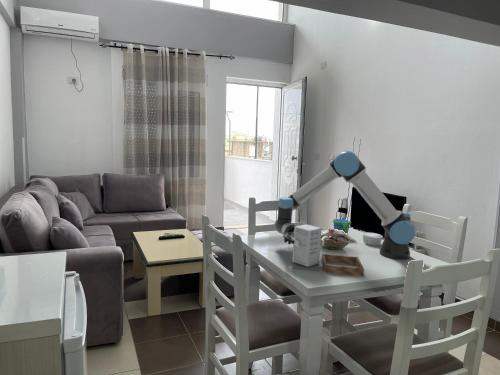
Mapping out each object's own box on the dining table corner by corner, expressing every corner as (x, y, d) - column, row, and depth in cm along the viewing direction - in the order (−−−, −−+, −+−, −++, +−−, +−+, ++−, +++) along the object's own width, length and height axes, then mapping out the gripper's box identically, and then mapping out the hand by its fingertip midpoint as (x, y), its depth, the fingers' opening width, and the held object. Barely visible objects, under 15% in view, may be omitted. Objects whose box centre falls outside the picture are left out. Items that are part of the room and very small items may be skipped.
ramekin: (379, 247, 214) (380, 238, 213) (359, 244, 219) (360, 235, 218) (383, 243, 223) (384, 234, 223) (364, 239, 229) (365, 231, 228)
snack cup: (351, 240, 225) (353, 224, 224) (333, 239, 226) (335, 222, 224) (346, 234, 240) (348, 218, 239) (330, 233, 241) (331, 217, 240)
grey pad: (317, 262, 181) (317, 260, 181) (319, 271, 169) (319, 269, 169) (292, 260, 182) (292, 258, 182) (292, 268, 170) (292, 266, 170)
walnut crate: (357, 263, 182) (357, 256, 182) (363, 276, 165) (363, 268, 165) (321, 260, 184) (322, 253, 184) (323, 272, 167) (324, 265, 167)
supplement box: (320, 263, 175) (323, 228, 173) (308, 267, 169) (310, 230, 167) (303, 257, 182) (306, 223, 180) (291, 261, 176) (294, 226, 173)
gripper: (312, 238, 195) (333, 250, 175) (268, 239, 188) (285, 252, 168) (313, 224, 194) (335, 234, 174) (269, 224, 187) (286, 236, 167)
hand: (310, 243), depth 171 cm, fingers closed on supplement box, 12 cm apart
